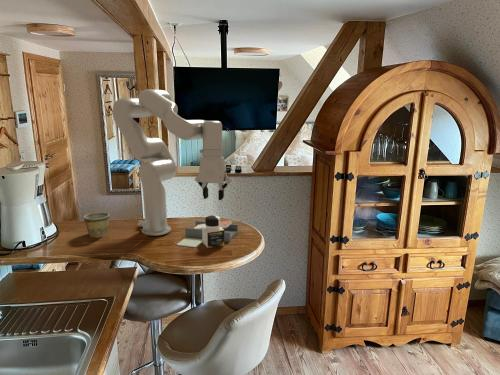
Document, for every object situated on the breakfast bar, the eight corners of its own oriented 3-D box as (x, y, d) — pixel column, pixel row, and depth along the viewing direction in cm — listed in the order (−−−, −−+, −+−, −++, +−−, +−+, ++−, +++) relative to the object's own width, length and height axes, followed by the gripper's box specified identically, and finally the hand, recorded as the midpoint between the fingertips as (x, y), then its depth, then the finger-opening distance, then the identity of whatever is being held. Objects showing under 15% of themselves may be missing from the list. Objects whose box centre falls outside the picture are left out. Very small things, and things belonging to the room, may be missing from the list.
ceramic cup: (102, 243, 152) (100, 219, 149) (80, 241, 154) (78, 218, 151) (119, 232, 164) (117, 211, 162) (99, 231, 166) (97, 209, 164)
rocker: (192, 231, 160) (192, 228, 160) (198, 227, 167) (198, 224, 166) (226, 227, 156) (226, 224, 155) (231, 223, 162) (231, 220, 162)
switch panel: (185, 237, 159) (185, 226, 158) (196, 228, 170) (196, 218, 169) (229, 241, 154) (229, 230, 153) (238, 232, 165) (237, 222, 164)
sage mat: (176, 245, 150) (176, 244, 149) (185, 238, 158) (185, 237, 157) (195, 247, 147) (195, 246, 147) (204, 240, 155) (204, 239, 155)
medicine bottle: (207, 248, 147) (207, 220, 145) (202, 243, 153) (201, 215, 151) (224, 246, 150) (224, 217, 148) (218, 240, 156) (218, 213, 154)
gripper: (188, 153, 141) (189, 199, 145) (230, 155, 137) (230, 202, 140) (196, 151, 148) (197, 195, 152) (236, 153, 144) (236, 198, 147)
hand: (213, 198), depth 146 cm, fingers open, 5 cm apart
